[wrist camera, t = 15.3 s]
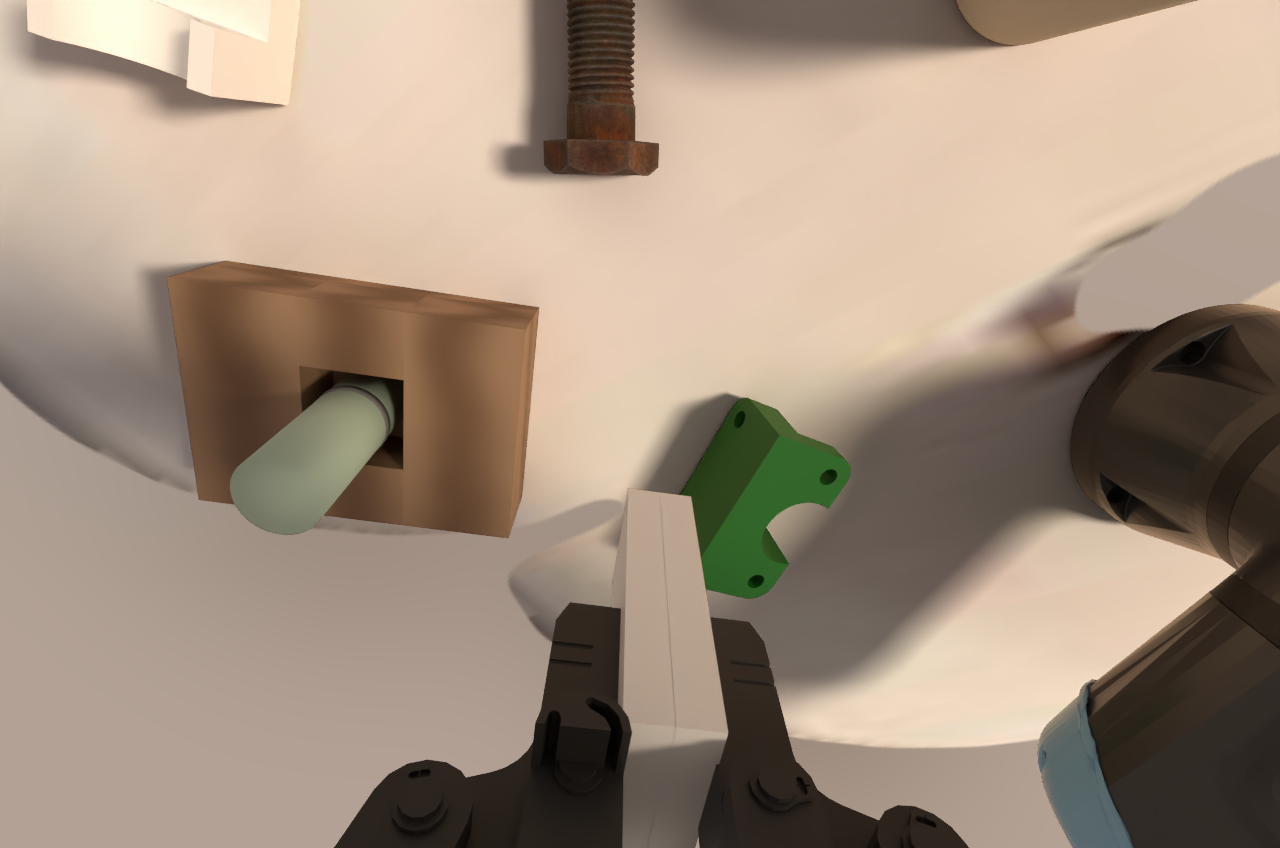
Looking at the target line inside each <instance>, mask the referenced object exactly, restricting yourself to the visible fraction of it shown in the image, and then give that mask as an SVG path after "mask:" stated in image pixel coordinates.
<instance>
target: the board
mask: <svg viewBox="0 0 1280 848" xmlns="http://www.w3.org/2000/svg"><path fill="white" fill-rule="evenodd" d="M167 283H168V290H169V297H170V304H171V311H172V318H173V325H174V332H175V339H176V345H177V352H178V359H179V366H180V373H181V380H182V387H183V394H184V401H185V408H186V415H187V421H188V428H189V435H190V442H191V449H192V456H193V463H194V470H195V477H196V484H197V491H198V498H199V500H204V501H212V502H220V503H228V504H234V502H233V500H232V497H231V493H230V481H231V477H232V474H233V473H234V471H235V469H236V468H237V467H238V466H239V465H240V464H241V463H243V462H244V461H245V460H246V459H247V458H249V457H250V456H251V455H252V454H253V453H254V452H256V451H257V450H258V449H259V448H260V447H262V446H263V445H264V444H265V443H266V442H268V441H269V440H270V439H271V438H272V437H274V436H275V435H276V434H277V433H278V432H280V431H281V430H282V429H283V428H284V427H286V426H287V425H288V424H289V423H290V422H291V421H293V420H294V419H295V418H296V417H297V416H299V415H300V414H301V413H302V412H303V411H305V410H306V409H307V408H308V407H309V406H311V405H312V404H313V403H314V402H315V401H316V400H317V398H319V397H320V396H321V395H322V394H323V393H325V392H326V391H327V390H329V389H331V388H332V387H333V386H334V385H336V384H337V383H338V382H339V381H340V380H342V379H343V378H344V377H345V376H346V375H348V374H349V373H355V374H362V375H370V376H377V377H384V378H391V379H398V380H404V417H403V419H402V420H401V421H400V422H399V423H398V425H397V426H396V427H395V428H394V430H393V431H392V432H391V433H390V434H389V436H388V438H387V439H386V441H385V442H384V443H383V445H382V446H381V447H380V448H379V449H378V450H377V451H376V452H375V453H374V454H373V455H372V457H371V458H370V459H369V460H368V462H367V463H366V464H365V465H364V466H363V468H362V469H361V470H360V471H359V473H358V474H357V475H356V476H355V477H354V479H353V480H352V481H351V482H350V484H349V485H348V486H347V487H346V489H345V490H344V491H343V492H342V493H341V495H340V496H339V497H338V498H337V500H336V501H335V502H334V503H333V505H332V506H331V507H330V508H329V509H328V511H327V512H326V513H325V514H324V515H325V516H333V517H341V518H349V519H357V520H365V521H373V522H381V523H389V524H397V525H405V526H414V527H422V528H430V529H438V530H446V531H454V532H462V533H470V534H478V535H486V536H495V537H503V538H509V534H510V532H511V528H512V525H513V522H514V519H515V516H516V513H517V510H518V507H519V504H520V501H521V498H522V490H523V479H524V468H525V457H526V446H527V435H528V424H529V413H530V402H531V391H532V380H533V369H534V358H535V347H536V336H537V325H538V314H539V307H532V306H525V305H519V304H512V303H505V302H498V301H492V300H485V299H478V298H472V297H465V296H458V295H451V294H445V293H438V292H431V291H425V290H418V289H411V288H404V287H398V286H391V285H384V284H377V283H371V282H364V281H357V280H351V279H344V278H337V277H330V276H324V275H317V274H310V273H304V272H297V271H290V270H283V269H277V268H270V267H263V266H257V265H250V264H243V263H236V262H230V261H224V262H220V263H216V264H213V265H209V266H206V267H202V268H199V269H195V270H192V271H188V272H184V273H181V274H177V275H174V276H170V277H167Z"/></svg>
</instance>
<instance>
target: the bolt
mask: <svg viewBox="0 0 1280 848" xmlns="http://www.w3.org/2000/svg"><path fill="white" fill-rule="evenodd" d="M567 1H568V2H569V3H568V5H567V9H568V10H569V12H568V13H567V17H568V18H569V20H568V22H567V25H568V26H569V27H570V28H569V29H568V30H567V32H568V34H569V35H570V36H569V37H568V42H569V43H570V45H569V46H568V50H569V51H570V53H569V54H568V58H569V59H570V61H569V62H568V66H569V67H571V68H570V69H569V70H568V74H570V75H572V76H570V77H569V78H568V81H569V82H570V83H572V84H570V85H569V86H568V88H569V90H571V92H570V93H569V102H568V104H567V139H564V140H549V141H544V165H545V166H546V167H547V168H548V170H549V171H551V172H552V173H554V174H593V175H641V176H648V175H650V174H651V173H652V172H654V171H655V170H656V169H657V168H658V156H659V144H658V143H649V142H639V141H635V106H634V100H633V97H632V96H633V94H634V92H633V91H632V90H631V89H630V88H633V87H634V84H633V83H632V82H630V81H631V80H633V79H634V76H633V75H631V74H630V73H632V72H634V69H633V68H632V67H631V66H630V65H632V64H634V60H633V59H632V58H631V57H633V56H634V52H633V51H632V50H631V49H632V48H634V46H635V45H634V43H633V42H632V40H634V38H635V36H634V35H633V34H632V33H633V32H634V30H635V29H634V27H633V26H632V25H633V24H634V22H635V20H634V19H632V18H631V17H633V16H634V14H635V12H634V11H633V10H632V8H633V7H635V3H634V2H633V1H632V0H567Z"/></svg>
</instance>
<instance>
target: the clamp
mask: <svg viewBox="0 0 1280 848" xmlns="http://www.w3.org/2000/svg"><path fill="white" fill-rule="evenodd" d="M849 476H850V466H849V464H848V462H847V461H846V460H845V459H844V458H843V457H842V456H841V455H840V454H839V453H838V451H837V450H836V449H835V448H833V447H832V446H830V445H827V444H824V443H822V442H819V441H816V440H814V439H811V438H808V437H806V436H803V435H800V434H798V433H797V432H796V431H795V430H794V429H793V427H792V426H791V425H790V424H789V423H788V422H787V421H786V419H785V418H784V417H783V416H782V415H781V414H780V412H779V411H778V410H777V409H775V408H772V407H769V406H767V405H764V404H762V403H759V402H757V401H754V400H751V399H749V398H742V399H740V400H739V401H738V402H737V403H736V404H735V405H734V406H733V408H732V409H731V411H730V412H729V414H728V416H727V417H726V419H725V421H724V422H723V424H722V426H721V427H720V429H719V431H718V433H717V434H716V436H715V438H714V439H713V441H712V443H711V444H710V446H709V448H708V449H707V451H706V453H705V454H704V456H703V458H702V459H701V461H700V463H699V464H698V466H697V468H696V469H695V471H694V473H693V474H692V476H691V478H690V479H689V481H688V483H687V484H686V486H685V488H684V489H683V491H682V493H681V494H680V495H683V496H691V500H692V506H693V512H694V519H695V525H696V531H697V538H698V544H699V550H700V557H701V563H702V569H703V576H704V582H705V588H706V589H707V590H711V591H716V592H720V593H724V594H729V595H733V596H737V597H742V598H747V599H751V598H756V597H759V596H762V595H764V594H765V593H767V592H768V591H769V590H770V589H771V588H772V587H773V585H774V584H775V583H776V581H777V580H778V578H779V577H780V575H781V574H782V573H783V571H784V570H785V568H786V567H787V566H788V564H789V563H788V562H787V560H786V558H785V557H784V555H783V554H782V552H781V550H780V549H779V547H778V546H777V544H776V542H775V541H774V539H773V538H772V536H771V535H770V533H769V531H768V530H767V528H766V527H767V525H768V524H769V522H770V521H771V520H772V519H773V518H774V517H775V516H776V515H777V514H779V513H780V512H781V511H783V510H785V509H786V508H788V507H790V506H793V505H796V504H800V503H806V502H811V503H818V504H821V505H823V506H825V507H826V508H827V509H828V508H829V507H830V505H831V504H832V502H833V501H834V500H835V498H836V497H837V495H838V494H839V493H840V491H841V490H842V488H843V487H844V485H845V484H846V483H847V481H848V479H849Z"/></svg>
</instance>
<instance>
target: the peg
mask: <svg viewBox="0 0 1280 848" xmlns="http://www.w3.org/2000/svg"><path fill="white" fill-rule="evenodd" d="M403 417H404V380H398V379H391V378H384V377H377V376H370V375H362V374H355V373H349V374H348V375H346V376H345V377H344V378H343V379H342V380H340V381H339V382H338V383H337V384H336V385H334V386H333V387H332V388H331V389H329V390H327V391H326V392H325V393H323V394H322V395H321V396H320V397H319V398H317V400H316V401H315V402H314V403H313V404H312V405H311V406H309V407H308V408H307V409H306V410H305V411H303V412H302V413H301V414H300V415H299V416H297V417H296V418H295V419H294V420H293V421H291V422H290V423H289V424H288V425H287V426H286V427H284V428H283V429H282V430H281V431H280V432H278V433H277V434H276V435H275V436H274V437H272V438H271V439H270V440H269V441H268V442H266V443H265V444H264V445H263V446H262V447H260V448H259V449H258V450H257V451H256V452H254V453H253V454H252V455H251V456H250V457H249V458H247V459H246V460H245V461H244V462H243V463H241V464H240V465H239V466H238V467H237V468H236V469H235V471H234V473H233V474H232V477H231V481H230V493H231V497H232V500H233V502H234V504H235V506H236V507H237V509H238V510H239V511H240V513H241V514H242V515H243V516H244V517H245V518H246V519H247V520H248V521H250V522H251V523H253V524H254V525H256V526H257V527H259V528H261V529H263V530H266V531H268V532H272V533H276V534H282V535H293V534H299V533H302V532H305V531H308V530H309V529H311V528H312V527H314V526H315V525H316V524H317V523H318V522H319V520H320V519H321V518H322V517H323V516H324V514H325V513H326V512H327V511H328V509H329V508H330V507H331V506H332V505H333V503H334V502H335V501H336V500H337V498H338V497H339V496H340V495H341V493H342V492H343V491H344V490H345V489H346V487H347V486H348V485H349V484H350V482H351V481H352V480H353V479H354V477H355V476H356V475H357V474H358V473H359V471H360V470H361V469H362V468H363V466H364V465H365V464H366V463H367V462H368V460H369V459H370V458H371V457H372V455H373V454H374V453H375V452H376V451H377V450H378V449H379V448H380V447H381V446H382V445H383V443H384V442H385V441H386V439H387V438H388V436H389V434H390V433H391V432H392V431H393V430H394V428H395V427H396V426H397V425H398V423H399V422H400V421H401V420H402V419H403Z"/></svg>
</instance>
